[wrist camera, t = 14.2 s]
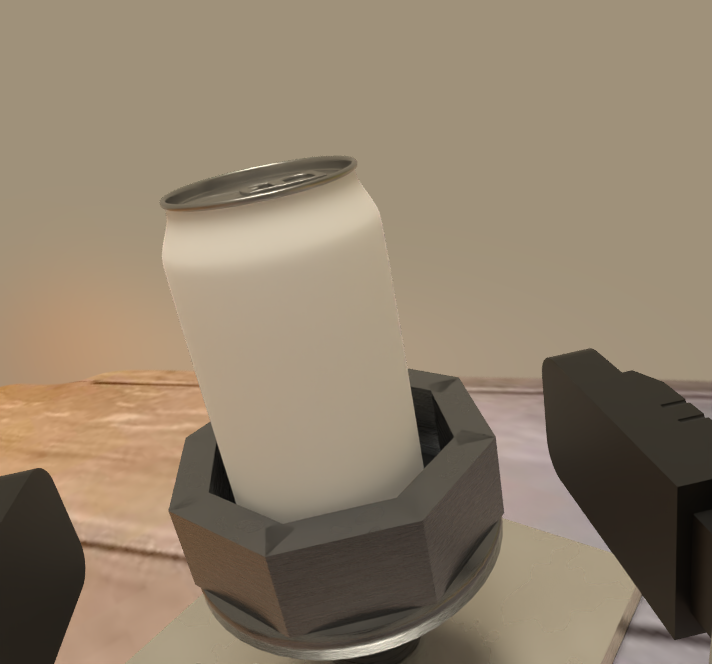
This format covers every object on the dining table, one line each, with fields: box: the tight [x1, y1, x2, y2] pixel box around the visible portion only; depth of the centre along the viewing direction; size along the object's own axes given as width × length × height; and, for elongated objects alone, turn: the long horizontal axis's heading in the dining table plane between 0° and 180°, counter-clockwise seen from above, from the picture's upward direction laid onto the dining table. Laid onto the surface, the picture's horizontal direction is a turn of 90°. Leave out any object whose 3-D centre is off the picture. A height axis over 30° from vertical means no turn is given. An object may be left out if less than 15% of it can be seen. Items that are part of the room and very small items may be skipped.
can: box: [160, 156, 424, 524], centre depth 20 cm, size 6×6×12 cm
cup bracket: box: [125, 369, 642, 664], centre depth 24 cm, size 16×16×10 cm
